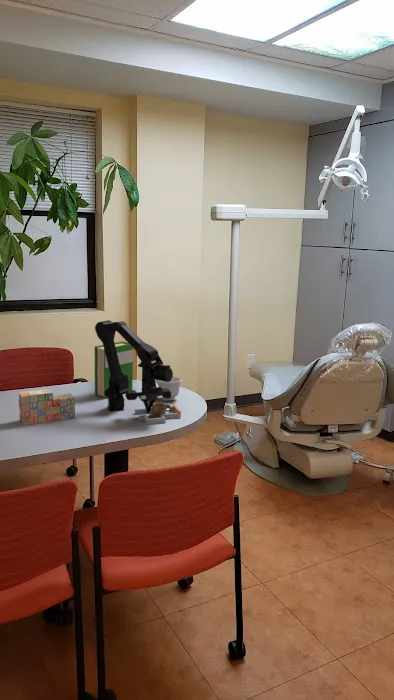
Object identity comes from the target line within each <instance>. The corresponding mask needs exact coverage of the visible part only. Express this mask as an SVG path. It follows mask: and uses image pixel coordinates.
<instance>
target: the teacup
mask: <svg viewBox="0 0 394 700" xmlns="http://www.w3.org/2000/svg"><path fill="white" fill-rule="evenodd" d="M182 381H183V378H181V377H180V376H176V375H173V377H172V379H171V381H170V382H165V381H160V380H155V382H156V385H158V387H162V389H164V388H168V389H169V390H170V392H171V398H164V397H163V396H161V397H162V400H163V401H165V400H173V401H175V400H176V397H177V396H178V395H179V393H180V386H181V382H182ZM174 399H175V400H174Z"/></svg>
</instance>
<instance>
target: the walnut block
mask: <svg viewBox="0 0 394 700" xmlns="http://www.w3.org/2000/svg"><path fill="white" fill-rule="evenodd" d="M165 404H166V403H164V402H163V401H162V402H154V403H153V405H152V407H151V408H152V413H151V415H152V417H153V418H160V414H167V413H166V412H167V411H166V406H165Z"/></svg>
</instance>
